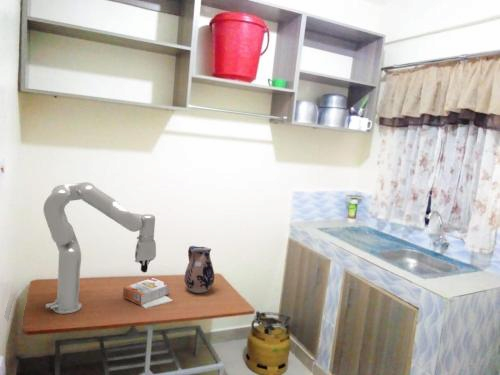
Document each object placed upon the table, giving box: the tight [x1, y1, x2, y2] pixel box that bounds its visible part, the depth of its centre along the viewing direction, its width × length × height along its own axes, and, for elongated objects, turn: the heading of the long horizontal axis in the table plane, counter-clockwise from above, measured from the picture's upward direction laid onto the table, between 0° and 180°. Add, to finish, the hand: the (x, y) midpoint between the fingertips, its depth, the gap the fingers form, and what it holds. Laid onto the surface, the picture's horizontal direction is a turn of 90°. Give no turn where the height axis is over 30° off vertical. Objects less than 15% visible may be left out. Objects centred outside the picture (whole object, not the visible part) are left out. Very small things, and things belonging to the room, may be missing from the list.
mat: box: [140, 295, 173, 310], centre depth 200 cm, size 16×19×1 cm
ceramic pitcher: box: [183, 245, 215, 294], centre depth 217 cm, size 18×21×25 cm
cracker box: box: [122, 277, 171, 306], centre depth 201 cm, size 14×6×21 cm
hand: (143, 271), depth 195 cm, fingers closed
